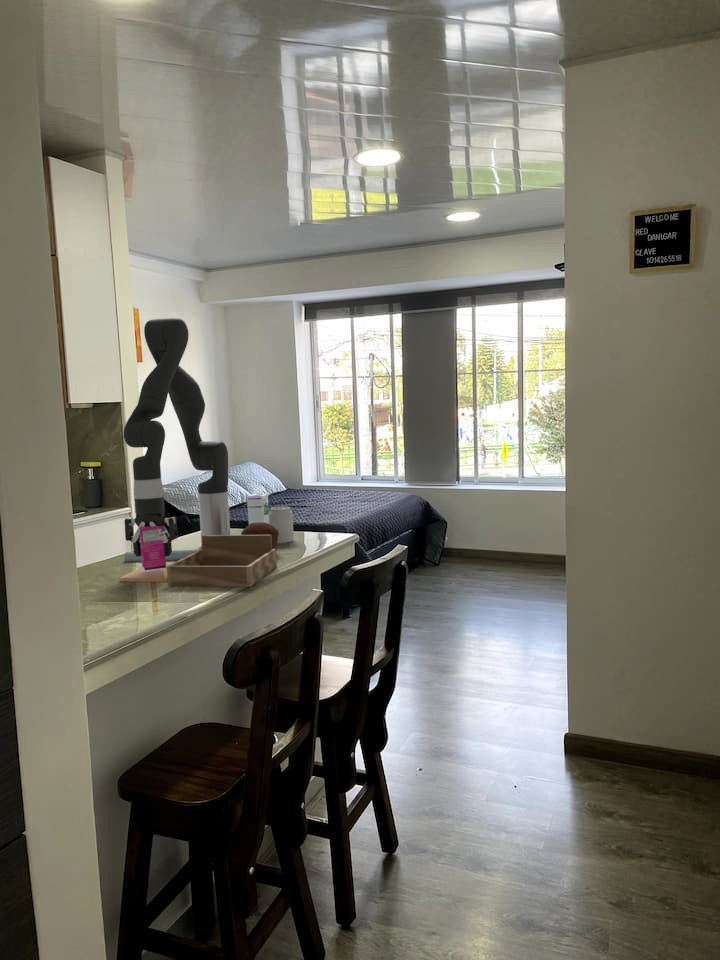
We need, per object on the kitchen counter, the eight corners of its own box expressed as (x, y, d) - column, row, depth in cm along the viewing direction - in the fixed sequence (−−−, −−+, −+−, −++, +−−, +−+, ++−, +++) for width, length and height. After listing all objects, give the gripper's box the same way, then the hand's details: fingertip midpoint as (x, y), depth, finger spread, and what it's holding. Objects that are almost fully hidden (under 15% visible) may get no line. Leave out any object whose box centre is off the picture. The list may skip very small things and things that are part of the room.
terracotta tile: (142, 570, 208) (142, 566, 208) (186, 570, 206) (186, 566, 205) (119, 581, 195) (119, 577, 195) (166, 581, 193) (166, 577, 193)
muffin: (234, 560, 217) (232, 526, 216) (250, 552, 228) (248, 520, 227) (272, 561, 214) (270, 526, 213) (286, 553, 224) (285, 520, 223)
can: (273, 542, 243) (272, 505, 242) (296, 541, 242) (294, 505, 241) (267, 546, 236) (265, 509, 235) (290, 546, 235) (289, 508, 234)
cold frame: (201, 566, 209) (199, 535, 209) (276, 566, 205) (275, 534, 205) (167, 586, 188) (165, 550, 187) (251, 586, 184) (249, 550, 183)
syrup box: (265, 538, 252) (263, 495, 250) (248, 538, 253) (246, 495, 251) (270, 535, 257) (268, 493, 256) (254, 535, 258) (252, 493, 257)
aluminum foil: (203, 560, 221) (202, 548, 221) (196, 564, 215) (196, 553, 214) (128, 562, 223) (127, 550, 222) (120, 566, 216) (119, 555, 216)
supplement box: (141, 566, 202) (138, 524, 200) (163, 563, 204) (160, 522, 203) (143, 570, 196) (140, 527, 195) (166, 567, 199) (163, 525, 197)
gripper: (179, 493, 201) (183, 553, 202) (130, 494, 203) (134, 553, 205) (167, 497, 193) (171, 559, 195) (117, 498, 196) (121, 559, 198)
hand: (152, 555), depth 200 cm, fingers closed on supplement box, 7 cm apart
